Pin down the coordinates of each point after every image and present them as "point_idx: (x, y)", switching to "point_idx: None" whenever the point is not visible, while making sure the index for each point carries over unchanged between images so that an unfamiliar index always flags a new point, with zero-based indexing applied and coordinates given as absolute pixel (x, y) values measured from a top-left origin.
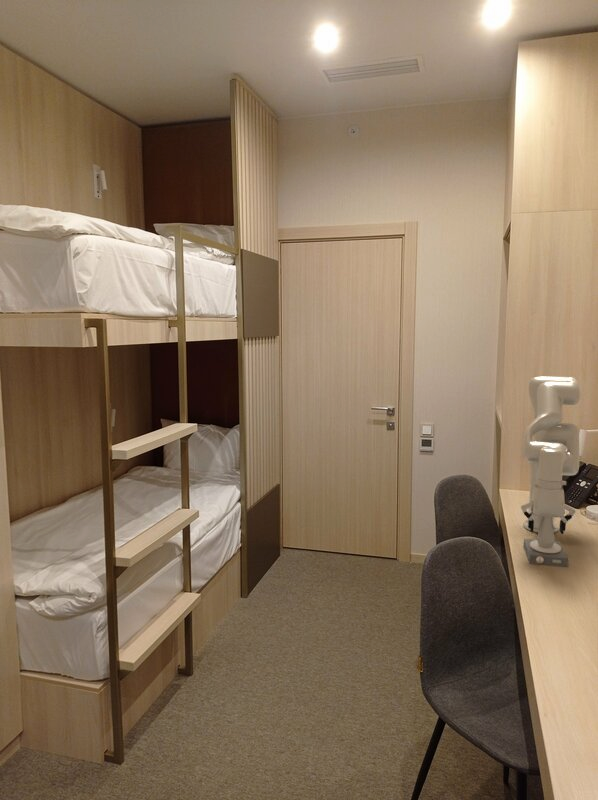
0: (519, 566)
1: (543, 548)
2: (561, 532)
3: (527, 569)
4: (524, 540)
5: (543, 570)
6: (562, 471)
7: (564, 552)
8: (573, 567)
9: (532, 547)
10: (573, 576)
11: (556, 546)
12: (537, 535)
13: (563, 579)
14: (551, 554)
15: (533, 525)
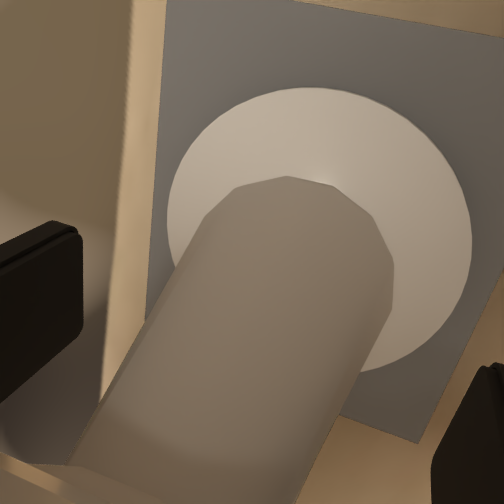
0: (112, 333)
1: None
2: (434, 483)
3: None
4: (166, 28)
5: None
6: None
7: (454, 349)
8: (458, 407)
9: (175, 266)
10: (380, 493)
11: (418, 275)
12: (196, 231)
13: (302, 500)
14: None
15: (16, 386)
